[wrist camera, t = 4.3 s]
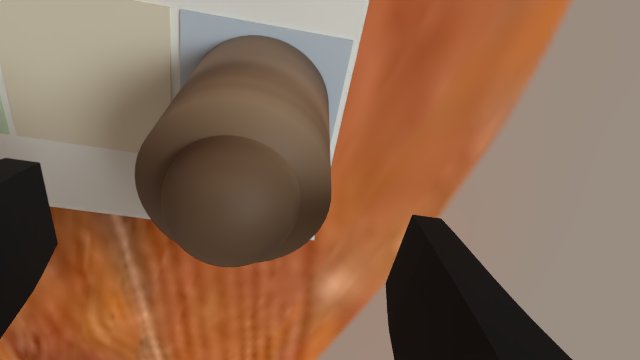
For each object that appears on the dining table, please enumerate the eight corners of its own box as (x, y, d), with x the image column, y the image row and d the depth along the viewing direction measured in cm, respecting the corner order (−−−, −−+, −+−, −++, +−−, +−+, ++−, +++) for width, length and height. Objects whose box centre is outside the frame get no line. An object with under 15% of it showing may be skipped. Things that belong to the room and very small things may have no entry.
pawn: (313, 174, 15) (308, 330, 10) (187, 151, 15) (108, 302, 9) (343, 52, 13) (358, 171, 7) (193, 20, 12) (91, 123, 7)
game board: (313, 230, 18) (313, 241, 17) (-113, 174, 16) (-129, 185, 15) (383, -77, 12) (387, -74, 11) (-294, -221, 10) (-333, -228, 9)
